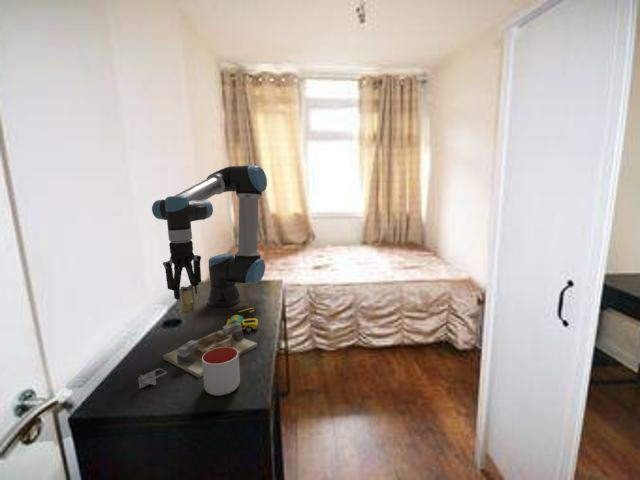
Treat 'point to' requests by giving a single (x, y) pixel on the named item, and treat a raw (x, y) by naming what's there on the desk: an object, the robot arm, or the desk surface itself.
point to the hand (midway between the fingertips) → (186, 305)
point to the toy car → (244, 322)
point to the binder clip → (149, 378)
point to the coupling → (187, 300)
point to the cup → (221, 370)
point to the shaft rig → (209, 348)
